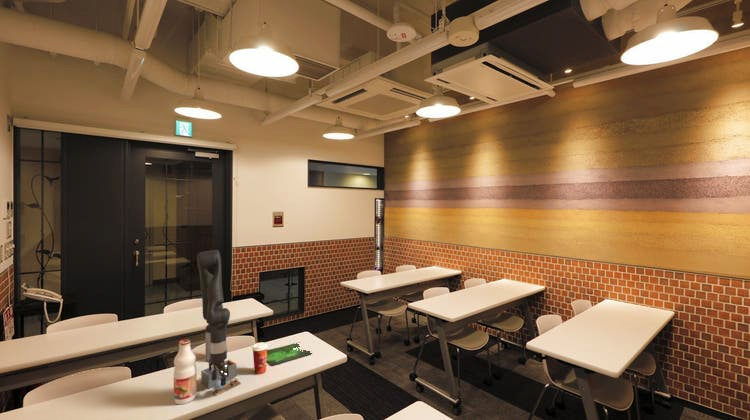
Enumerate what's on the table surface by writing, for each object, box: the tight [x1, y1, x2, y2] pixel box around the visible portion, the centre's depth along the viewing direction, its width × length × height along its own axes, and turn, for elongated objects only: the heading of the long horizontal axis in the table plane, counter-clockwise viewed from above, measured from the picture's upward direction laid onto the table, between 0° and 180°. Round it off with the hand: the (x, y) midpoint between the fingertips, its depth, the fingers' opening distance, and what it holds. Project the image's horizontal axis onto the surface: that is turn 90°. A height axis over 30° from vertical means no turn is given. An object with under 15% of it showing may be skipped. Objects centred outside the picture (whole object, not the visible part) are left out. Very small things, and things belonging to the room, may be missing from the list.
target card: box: [211, 377, 239, 390], centre depth 168 cm, size 4×12×1 cm, turn 144°
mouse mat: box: [266, 342, 313, 367], centre depth 202 cm, size 27×22×1 cm
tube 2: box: [222, 358, 238, 381], centre depth 175 cm, size 7×7×7 cm
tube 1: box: [200, 367, 222, 390], centre depth 168 cm, size 7×7×7 cm
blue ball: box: [214, 380, 223, 390], centre depth 160 cm, size 4×4×4 cm
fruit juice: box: [173, 338, 198, 405], centre depth 155 cm, size 9×9×28 cm
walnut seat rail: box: [212, 380, 241, 397], centre depth 163 cm, size 3×13×2 cm, turn 144°
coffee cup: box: [251, 341, 269, 375], centre depth 180 cm, size 8×8×15 cm
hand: (218, 382), depth 160 cm, fingers open, 8 cm apart
